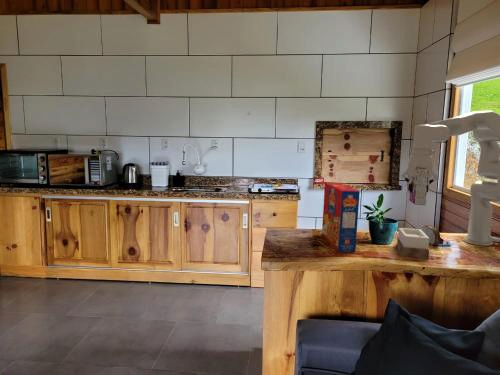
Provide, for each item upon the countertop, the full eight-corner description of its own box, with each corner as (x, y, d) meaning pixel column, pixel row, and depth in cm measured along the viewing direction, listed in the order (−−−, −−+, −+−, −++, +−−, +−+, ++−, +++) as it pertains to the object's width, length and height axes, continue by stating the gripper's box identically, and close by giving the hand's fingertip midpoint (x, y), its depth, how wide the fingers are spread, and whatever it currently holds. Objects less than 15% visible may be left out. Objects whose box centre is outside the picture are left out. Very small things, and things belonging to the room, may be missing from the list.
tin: (440, 247, 181) (442, 230, 180) (433, 247, 181) (435, 230, 180) (426, 239, 196) (428, 223, 195) (420, 238, 196) (422, 223, 195)
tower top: (420, 239, 180) (420, 229, 179) (428, 249, 164) (429, 238, 164) (397, 237, 182) (398, 227, 181) (404, 247, 166) (405, 236, 166)
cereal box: (321, 235, 197) (324, 182, 193) (336, 235, 198) (340, 183, 194) (338, 252, 169) (342, 190, 166) (355, 252, 170) (359, 191, 166)
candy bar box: (408, 200, 176) (411, 165, 174) (419, 201, 175) (423, 166, 173) (413, 204, 165) (417, 167, 163) (425, 205, 164) (429, 168, 162)
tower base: (423, 248, 180) (424, 239, 180) (428, 260, 163) (429, 250, 163) (396, 245, 184) (397, 237, 183) (398, 256, 167) (399, 247, 166)
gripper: (441, 153, 168) (437, 193, 170) (400, 151, 174) (397, 190, 176) (443, 154, 161) (439, 195, 163) (400, 152, 167) (397, 192, 169)
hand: (417, 192), depth 170 cm, fingers closed on candy bar box, 5 cm apart
